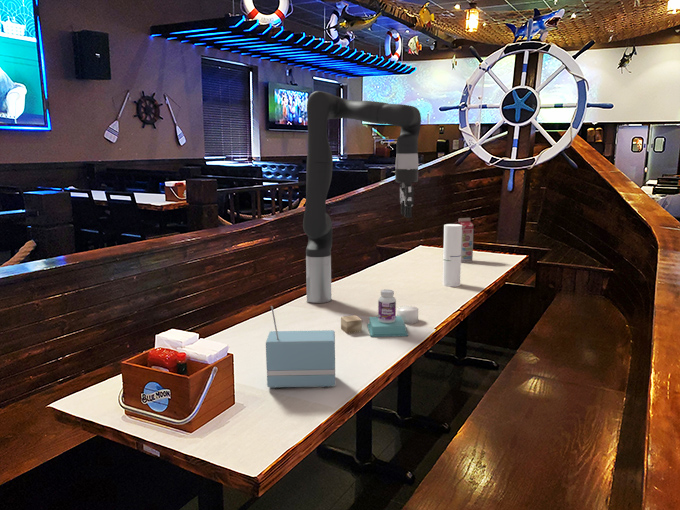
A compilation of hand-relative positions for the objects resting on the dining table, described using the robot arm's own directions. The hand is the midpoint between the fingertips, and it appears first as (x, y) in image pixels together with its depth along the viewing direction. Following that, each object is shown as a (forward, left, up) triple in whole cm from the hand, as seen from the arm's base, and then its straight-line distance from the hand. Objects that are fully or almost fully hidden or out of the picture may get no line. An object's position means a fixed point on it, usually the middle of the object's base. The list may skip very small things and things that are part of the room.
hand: (406, 216), depth 180 cm
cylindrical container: (+25, +36, -33) cm, 55 cm away
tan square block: (-20, -20, -33) cm, 44 cm away
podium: (-9, -21, -33) cm, 40 cm away
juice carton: (+43, +85, -33) cm, 101 cm away
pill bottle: (-9, -21, -30) cm, 38 cm away
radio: (-34, -58, -33) cm, 75 cm away
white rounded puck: (-1, -11, -33) cm, 35 cm away
